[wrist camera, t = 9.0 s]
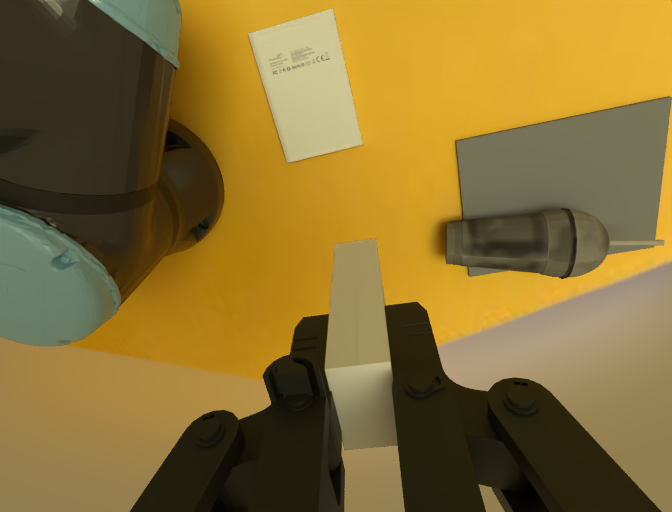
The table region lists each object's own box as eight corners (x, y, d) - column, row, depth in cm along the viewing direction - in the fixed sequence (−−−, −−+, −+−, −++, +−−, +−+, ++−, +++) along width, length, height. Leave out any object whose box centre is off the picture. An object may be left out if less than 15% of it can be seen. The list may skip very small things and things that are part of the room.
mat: (468, 274, 50) (469, 276, 50) (455, 140, 43) (456, 141, 43) (651, 245, 47) (654, 247, 47) (668, 96, 41) (671, 97, 40)
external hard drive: (288, 159, 46) (250, 33, 41) (363, 141, 45) (333, 9, 39) (286, 163, 44) (246, 33, 39) (363, 144, 43) (332, 8, 38)
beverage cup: (445, 276, 50) (640, 280, 45) (446, 276, 42) (678, 281, 38) (445, 214, 50) (639, 211, 45) (447, 204, 43) (677, 200, 38)
